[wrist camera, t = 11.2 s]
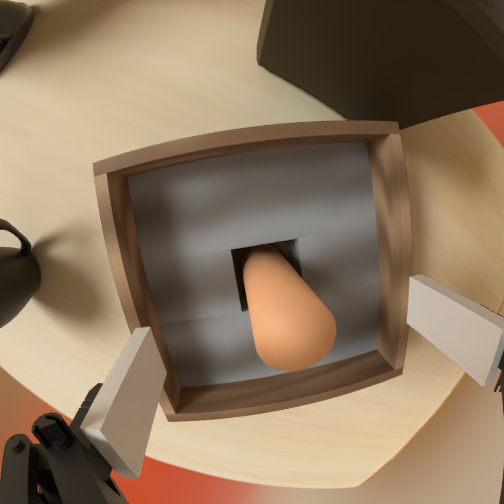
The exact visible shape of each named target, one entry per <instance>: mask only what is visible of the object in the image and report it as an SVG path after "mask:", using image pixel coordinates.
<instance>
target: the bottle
mask: <svg viewBox="0 0 504 504" xmlns="http://www.w3.org/2000/svg"><path fill="white" fill-rule="evenodd" d="M257 62H258V65H260V66H262V67H264V68H266V69H268V70H270V71H272V72H274V73H275V74H277V75H279V76H281V77H283V78H285V79H286V80H288V81H290V82H292V83H293V84H295V85H297V86H298V87H300V88H302V89H303V90H305V91H307V92H308V93H310V94H312V95H313V96H315V97H316V98H318V99H320V100H321V101H323V102H324V103H326V104H327V105H329V106H330V107H332V108H333V109H335V110H336V111H338V112H339V113H340V114H342V115H343V116H345V117H346V118H347V119H349V120H350V121H391V122H398V126H399V130H401V129H404V128H407V127H410V126H413V125H416V124H419V123H422V122H426V121H429V120H432V119H435V118H439V117H442V116H446V115H449V114H453V113H456V112H460V111H463V110H467V109H471V108H474V107H478V106H482V105H486V104H491V103H495V102H499V101H503V100H504V0H266V3H265V8H264V13H263V18H262V22H261V27H260V32H259V38H258V43H257Z"/></svg>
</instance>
